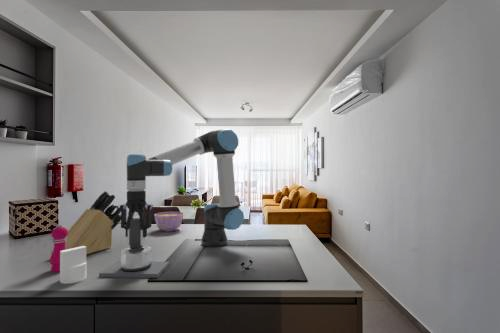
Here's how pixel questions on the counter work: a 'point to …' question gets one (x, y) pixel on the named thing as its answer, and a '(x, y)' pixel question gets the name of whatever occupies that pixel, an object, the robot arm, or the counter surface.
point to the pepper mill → (58, 246)
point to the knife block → (95, 226)
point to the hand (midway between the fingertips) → (136, 244)
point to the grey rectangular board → (151, 272)
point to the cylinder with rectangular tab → (73, 265)
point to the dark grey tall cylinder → (135, 233)
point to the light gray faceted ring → (136, 259)
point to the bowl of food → (168, 220)
